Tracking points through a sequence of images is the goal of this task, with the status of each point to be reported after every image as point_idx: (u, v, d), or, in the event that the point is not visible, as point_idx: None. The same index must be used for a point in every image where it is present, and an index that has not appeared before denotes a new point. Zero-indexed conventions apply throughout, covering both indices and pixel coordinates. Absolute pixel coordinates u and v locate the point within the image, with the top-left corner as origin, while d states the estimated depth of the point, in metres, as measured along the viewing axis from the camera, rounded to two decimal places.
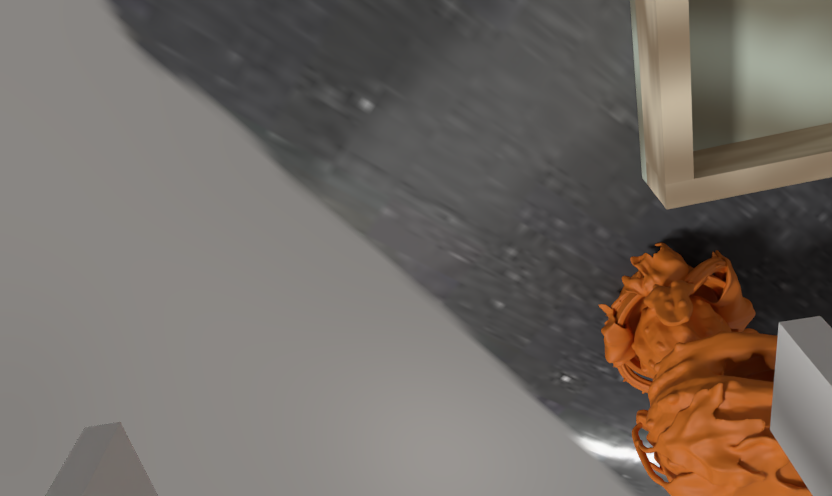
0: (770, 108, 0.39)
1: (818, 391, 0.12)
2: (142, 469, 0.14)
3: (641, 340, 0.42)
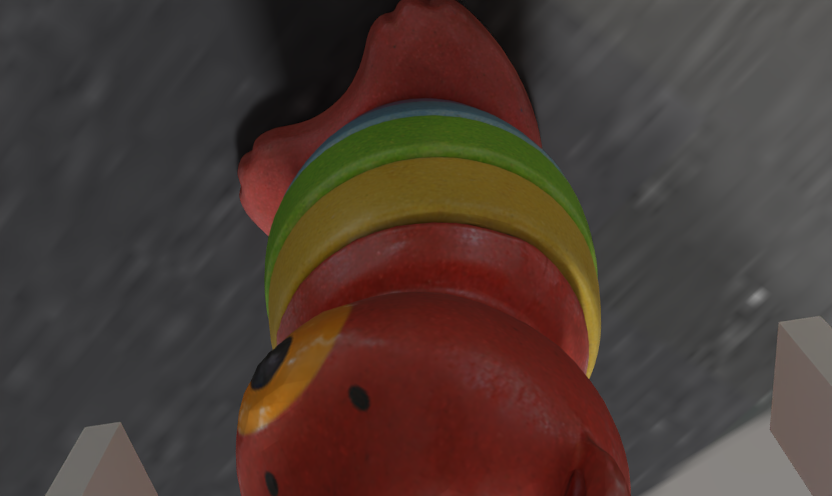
0: None
1: (818, 390, 0.12)
2: (142, 469, 0.14)
3: None
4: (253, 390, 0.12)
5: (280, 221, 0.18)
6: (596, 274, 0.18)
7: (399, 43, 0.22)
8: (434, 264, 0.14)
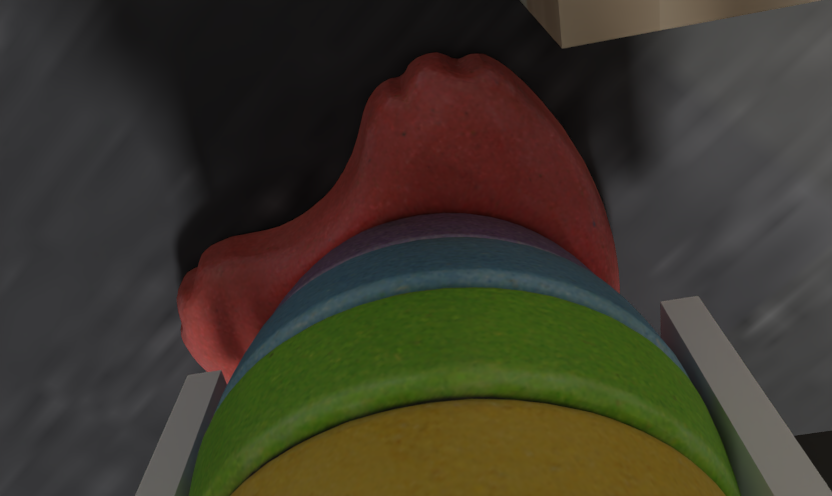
0: None
1: (686, 361, 0.13)
2: None
3: None
4: None
5: (204, 472, 0.10)
6: None
7: (412, 129, 0.14)
8: None
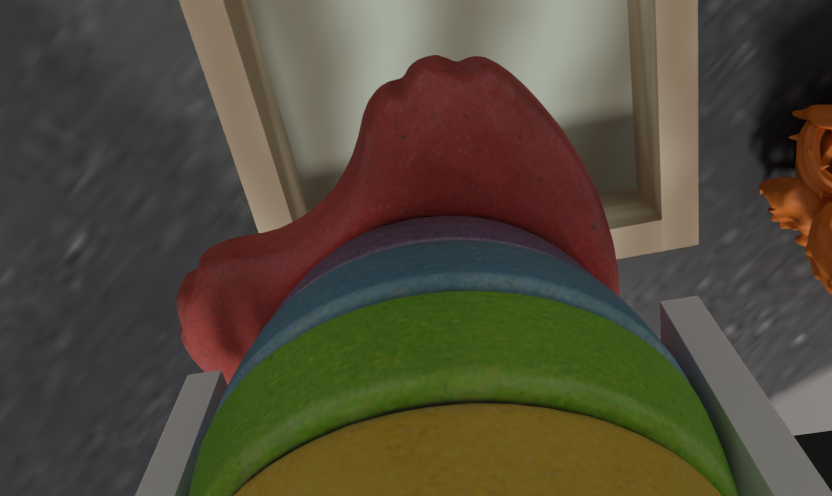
0: (592, 76, 0.29)
1: (686, 361, 0.13)
2: None
3: None
4: None
5: (203, 475, 0.10)
6: None
7: (412, 131, 0.14)
8: None
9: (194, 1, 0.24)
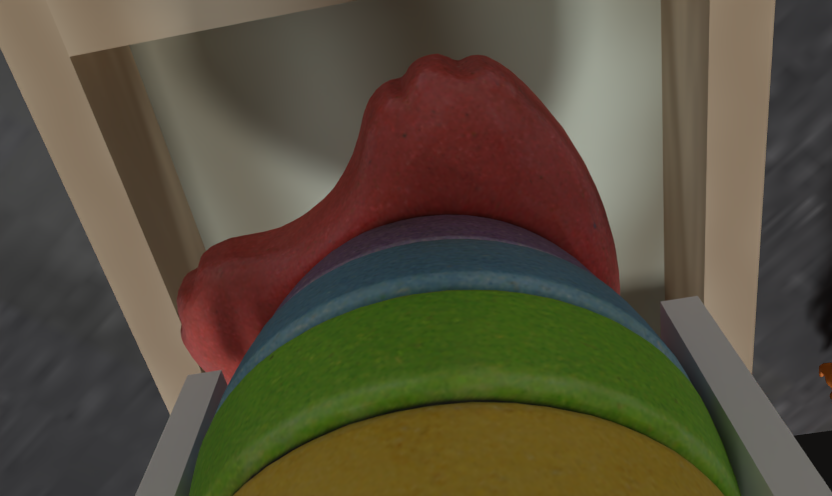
0: (614, 241, 0.23)
1: (686, 362, 0.13)
2: None
3: None
4: None
5: (203, 475, 0.10)
6: None
7: (413, 130, 0.14)
8: None
9: (81, 178, 0.18)
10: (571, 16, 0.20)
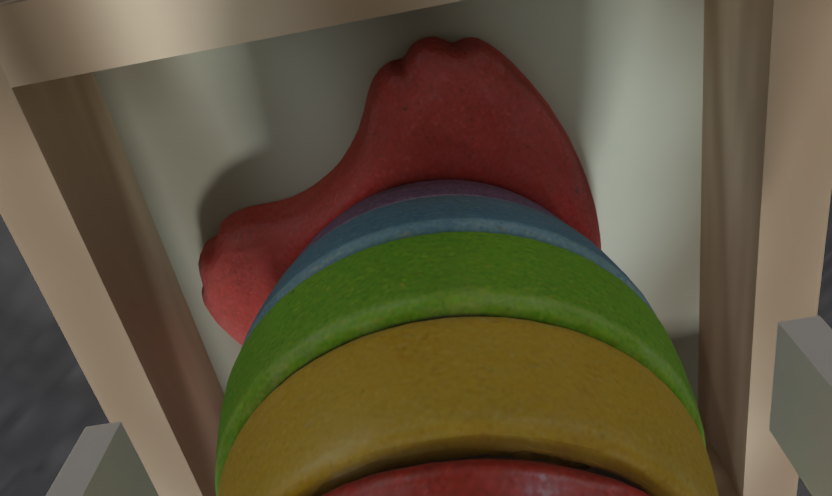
0: (644, 285, 0.20)
1: (817, 390, 0.12)
2: (142, 469, 0.14)
3: None
4: None
5: (235, 391, 0.12)
6: None
7: (413, 104, 0.16)
8: None
9: (31, 226, 0.15)
10: (599, 36, 0.17)
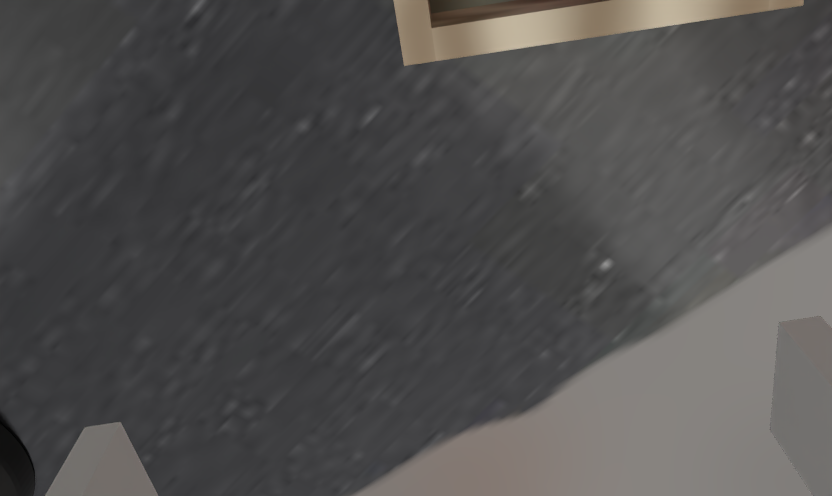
0: None
1: (818, 390, 0.12)
2: (142, 469, 0.14)
3: None
4: None
5: None
6: None
7: None
8: None
9: None
10: None
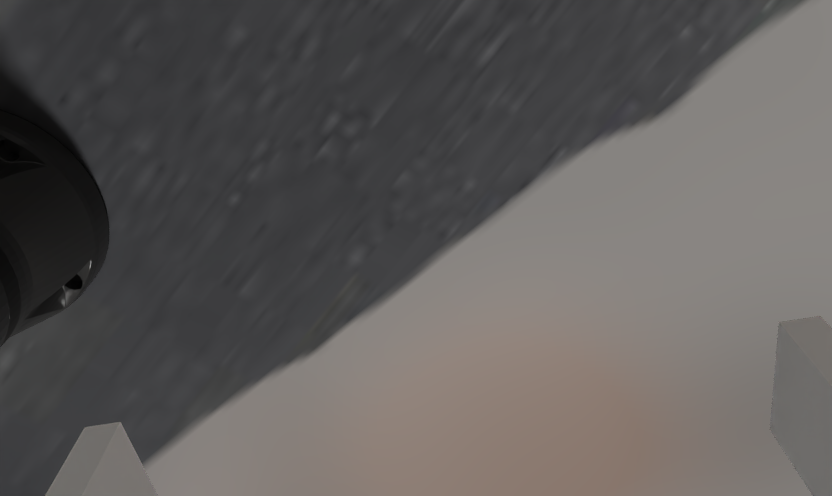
0: None
1: (818, 390, 0.12)
2: (142, 469, 0.14)
3: None
4: None
5: None
6: None
7: None
8: None
9: None
10: None
